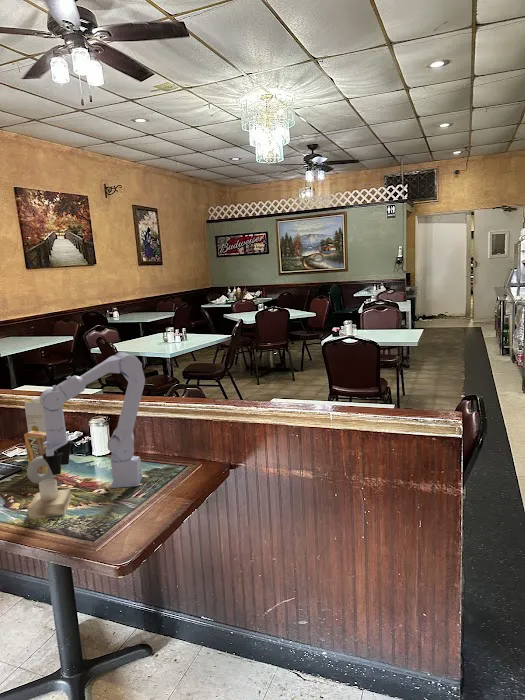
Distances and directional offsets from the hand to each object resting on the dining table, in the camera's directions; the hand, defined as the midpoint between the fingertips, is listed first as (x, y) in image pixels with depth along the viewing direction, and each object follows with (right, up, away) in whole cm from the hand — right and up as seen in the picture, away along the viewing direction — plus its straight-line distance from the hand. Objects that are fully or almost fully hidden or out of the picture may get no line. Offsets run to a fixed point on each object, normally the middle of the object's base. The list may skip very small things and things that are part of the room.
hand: (60, 469), depth 153 cm
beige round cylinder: (-2, -8, -4) cm, 9 cm away
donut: (-12, -9, +15) cm, 21 cm away
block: (-1, -12, -4) cm, 12 cm away
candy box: (-16, -7, +23) cm, 29 cm away
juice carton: (-23, -5, +42) cm, 48 cm away
